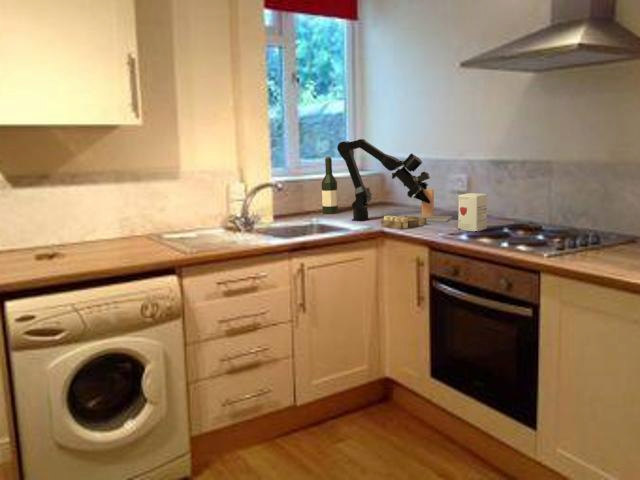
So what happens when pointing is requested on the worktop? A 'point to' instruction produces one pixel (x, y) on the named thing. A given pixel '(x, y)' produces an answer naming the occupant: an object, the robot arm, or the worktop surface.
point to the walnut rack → (399, 225)
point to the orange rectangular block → (428, 207)
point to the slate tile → (436, 218)
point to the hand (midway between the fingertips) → (430, 202)
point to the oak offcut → (402, 219)
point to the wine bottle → (329, 190)
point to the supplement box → (472, 212)
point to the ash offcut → (390, 218)
